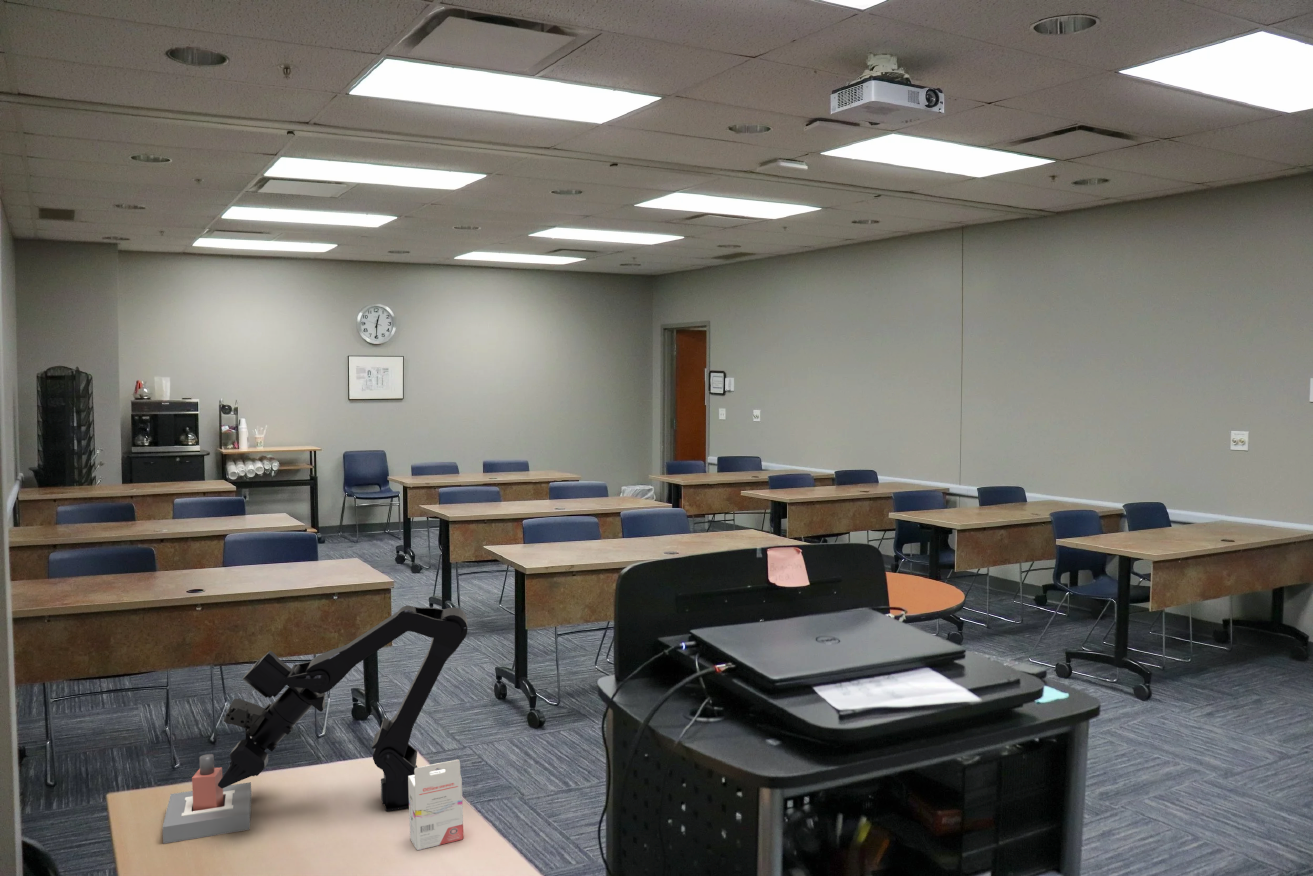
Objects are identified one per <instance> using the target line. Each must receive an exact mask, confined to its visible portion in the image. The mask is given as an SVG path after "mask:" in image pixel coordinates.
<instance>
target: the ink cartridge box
mask: <svg viewBox="0 0 1313 876" xmlns="http://www.w3.org/2000/svg"><path fill="white" fill-rule="evenodd" d="M414 774H415V775H410V776H408V790H409V808H408V813H409V814H408V816H409V818H408V819H409V837H410V838H409V839H410V841H411V843H412V845H413V846H414V848H415V850H417V851H420V850H424V849H425V850H426V849H429V848H432V847H437V846H441V845H444V844H450V843H454V842H457V841H461V840H463V839H464V814H463V813H464V811H463V807H464V806H463V780H462V776H461V762H460V760H459V759H453V760H449V761H443V762H442V761H441V762H438V763H434V764H432V763H431V764H428V765H423V766H417V768H415V770H414Z"/></svg>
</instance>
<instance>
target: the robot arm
mask: <svg viewBox="0 0 1313 876" xmlns="http://www.w3.org/2000/svg"><path fill="white" fill-rule="evenodd" d="M407 632H411V633H416V634H419V635H422V636H425V637H428V638H431V641H430V645H429V648H428V651H427V653H426V654H425V657H424V659H423V661H422V663H421V664H420V667H419V668H418V670H417V673H416V674H415V676H414V679H413V680H412V683H411V684H410V687H408V688H409V689H408V690H407V692H406V695H405V697H404V698H403V700H402V703H401V704H400V706H399V708H398V710H397V712H396V714H394V716H393V717H392V718H391V719H390V720H389V719H388V718H386V717H384V718H383V719H382V722H381V726H380V728H379V729H378V731H377V732H375V734H374V737H373V741H372V745H371V750H372V749H373V754H372V760H373V762H374V765H375V766H376V767H377V768H379V769H380V770H381V771H382V773H383V778H381V779H380V798H381V803H382V805H384V807H385V811H386V812H391V811H396V810H404V809H409V790H408V776H410V775H415V774H414V770H415V768H417V767H418V766H417V761H418V760H417V758H418V750H417V749H415V748H414V747H413V746H411V744H410V739H411V735H412V731H413V728H414V725H415V724H416V722H417V719H418V717H419V715H420V714H421V711H422V710H423V707H424V706H425V704H426V702H427V699H428V697H429V695H430V693H431V692H432V690H433V688H434V685H435V684H436V682H437V679H438V678H439V676H440V674H441V671H442V670H443V669H444V668H443V667H444V665H445V664H446V662H447V661H448V660H449V659H450V657H452V655H453V654H454V653H455V652H456V651H457V649H458V648H459V647H460V646H461V645H462V643H463V641H464V640H465V639H466V637H467V634H468V617H467V615H466V613H465V612H464V610H462V609H461V608H458V607H453V606H452V607H448V608H445V609H444V608H437V607H418V606H412V605H405V606H402V607H401V608H399V610H398V611H397V612H395V613H393V614H392V615H391V616H389V617H387V618H386V619H384V620H383V621H381V622H379V623H378V624H377V625H375V626H373V627H372V628H370V629H368V630H367V631H366V632H364V633H363V634H361V635H360V636H358V637H357V638H355V639H353V640H352V641H351V642H349V643H347V644H345V645H343V646H340V647H336V648H333V649H330V650H327V651H326V652H323V653H321V654H319V655H317V656H315V657H313V659H312V660H310V661H306V662H301V663H300V662H299V663H297V664H296V663H295V664H293V665H292V667H290V666H289V665H288V664H286V662H284V661H283V660H281V659H280V657H278V655H277V654H276V653H275V652H273V651H272V650H269V651H268V652H267V653H266V654H264V655H263V656H262V657H261V658H260V659H258V660H257V661H256V662H255V663H254V664H253V665H252V666H251V668H250V669H248V671H246V673H245V675H244V676H242V678H241V680H242V681H244V682H245V683H246V684H247V685H249V686H250V687H251V688H253V689H254V690H255V691H256V692H258V693H259V694H260V695H262V697H263V698H266V699H267V698H269V699H271V698H272V697H273V698H276V697H277V696H278V695H279V694H280V693H281V692H282V691H283V690H284V688H285V687H286V686H288V687H287V688H286V689H285V690H284V691H283V692H282V693H281V694H280V696H278V698H276V700H275V701H274V702H271V703H268V704H267V705H266V706H265V707H262V706H261V705H259V704H255V703H252V702H249V701H247V700H243V699H241V698H234V699H232V701H231V703H230V705H229V707H228V710H227V711H226V714H225V715H224V716H225V717H224V718H223V722H224V723H225V724H228V725H233V726H237V727H240V728H243V729H244V730H245V731H244V732H245V739H241V740H240V741H238V743H237V744H236V745H235V746H234V747H233V748H232V749H231V752H230V753H229V759H230V762H229V765H228V768H227V770H226V771H225V772H224V774H223V775H222V779H221V780H220V782H219V783H218V786H219V787H220V788H225V787H227V786H229V785H235V784H236V783H238V782H241V781H243V780H246V779H248V778H251V777H258V776H259V775H260V774H261V773H262V772H263V771H264V769H266V767H267V765H268V762H269V754H268V753H267V752H266V750H269V751H270V752H273V751H274V750H275V749H276V748H277V745H278V743H280V741H282V739H283V738H285V736H289V734H290V733H291V732H292V731H293V729H294V727H295V725H296V724H297V723H299V721H301V719H302V718H303V717H304V716H305V715H306V713H308V712H309V710H311V708H312V707H314V709H316V710H317V711H318V712H323V711H324V709H325V706H326V695H327V694H326V693H327V692H330V691H331V690H332V689H333V688H334V687H335V686H336V685H337V684H338V683H339V682H340V681H341V680H343V679H344V678H345V676H347V674H349V672H350V671H352V669H353V668H355V667H356V665H358V664H360V663H361V662H362V661H365V660H366V659H367V658H368V657H370V656H372V655H373V654H375V653H377V652H378V651H379V650H381V649H382V648H384V647H386V646H387V645H389V644H390V643H392V642H393V641H395V640H396V639H398V638H400V636H403V635H404V634H406V633H407Z"/></svg>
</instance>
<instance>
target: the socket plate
mask: <svg viewBox="0 0 1313 876" xmlns="http://www.w3.org/2000/svg"><path fill="white" fill-rule="evenodd" d="M223 802H224V807H217V808H211V809H204V810H198V811H193V790H188V791H183V792H182V791H181V792H176V793H175V792H174V793H170V795H169V800H168V804H167V808H166V811H165V815H164V820H163V823H162V843H163V845H164V844H169V843H175V842H176V843H177V842H181V841H188V840H193V839H201V838H206V837H213V836H219V835H225V834H230V833H231V834H232V833H237V832H243V831H249V830H250V826H251V812H252V810H251V809H252V782H243V783H237V784H236V783H234V784H232V785H229V786H227V787H225V788H223Z"/></svg>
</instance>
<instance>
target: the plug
mask: <svg viewBox="0 0 1313 876" xmlns="http://www.w3.org/2000/svg"><path fill="white" fill-rule="evenodd" d="M214 757H215V756H214V754H212V753H207V754H203V755H200V756H199V757H198V758H199V759H198V760H199V769H198V770H197V771H196V772H195V774H194V775H193V776H192V777H191V785H192V788H191V789H192V791H193V811H198V810H204V809H211V808H217V807H224V802H223V788H220V787H219V786H218V783H219V782H220V780H221V779H222V777H223V767H215V758H214Z"/></svg>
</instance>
